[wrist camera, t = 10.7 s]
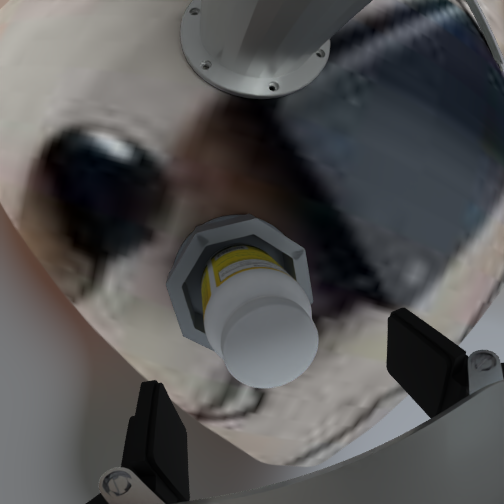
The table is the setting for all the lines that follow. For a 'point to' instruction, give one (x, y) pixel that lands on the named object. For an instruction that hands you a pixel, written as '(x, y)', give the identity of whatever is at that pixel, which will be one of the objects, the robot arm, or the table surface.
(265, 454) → the table surface
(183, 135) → the table surface
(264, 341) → the pill bottle
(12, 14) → the table surface
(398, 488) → the robot arm
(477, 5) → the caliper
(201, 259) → the socket cup
